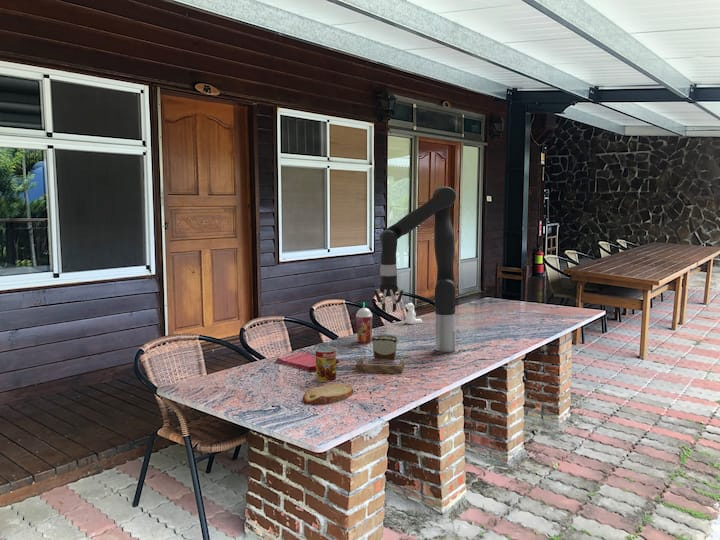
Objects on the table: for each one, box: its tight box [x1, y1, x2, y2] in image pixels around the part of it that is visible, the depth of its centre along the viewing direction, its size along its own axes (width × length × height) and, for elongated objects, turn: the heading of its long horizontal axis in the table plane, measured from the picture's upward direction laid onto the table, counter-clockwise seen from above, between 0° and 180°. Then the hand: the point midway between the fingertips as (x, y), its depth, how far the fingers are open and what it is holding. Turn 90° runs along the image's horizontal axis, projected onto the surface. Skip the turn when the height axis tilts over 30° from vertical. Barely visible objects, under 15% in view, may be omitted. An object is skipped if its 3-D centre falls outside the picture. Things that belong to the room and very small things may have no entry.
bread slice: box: [302, 382, 354, 406], centre depth 217 cm, size 18×18×4 cm
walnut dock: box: [354, 358, 405, 374], centre depth 249 cm, size 19×10×3 cm, turn 79°
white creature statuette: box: [404, 302, 423, 325], centre depth 340 cm, size 10×9×12 cm
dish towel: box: [275, 352, 340, 372], centre depth 261 cm, size 17×24×3 cm
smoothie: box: [355, 302, 374, 344], centre depth 296 cm, size 8×8×20 cm
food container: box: [370, 334, 399, 361], centre depth 266 cm, size 12×6×10 cm, turn 71°
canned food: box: [315, 346, 337, 383], centre depth 237 cm, size 8×8×12 cm
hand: (389, 311), depth 274 cm, fingers open, 3 cm apart
